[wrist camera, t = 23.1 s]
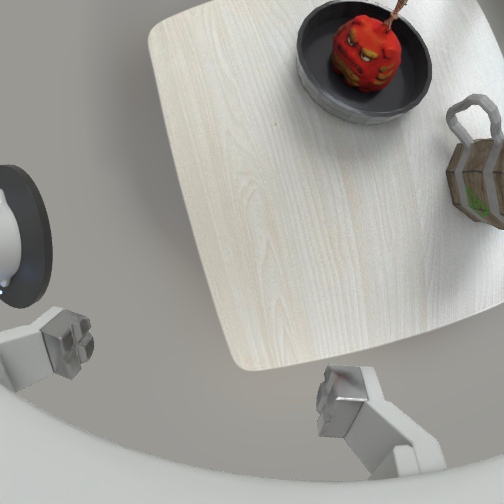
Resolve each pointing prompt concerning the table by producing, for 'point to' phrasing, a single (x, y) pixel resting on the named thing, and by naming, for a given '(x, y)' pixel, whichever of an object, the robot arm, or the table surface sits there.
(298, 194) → the table surface
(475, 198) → the mug
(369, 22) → the red clay folk toy
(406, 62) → the pan
